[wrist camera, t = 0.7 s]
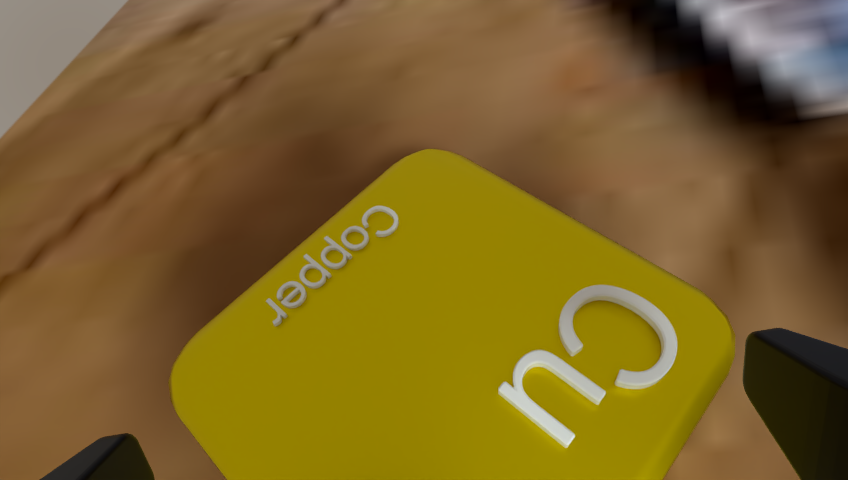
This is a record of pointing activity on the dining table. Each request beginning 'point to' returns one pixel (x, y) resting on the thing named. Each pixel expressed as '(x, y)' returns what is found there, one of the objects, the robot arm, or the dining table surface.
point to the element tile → (453, 345)
